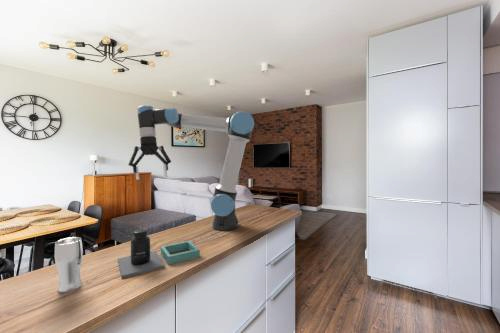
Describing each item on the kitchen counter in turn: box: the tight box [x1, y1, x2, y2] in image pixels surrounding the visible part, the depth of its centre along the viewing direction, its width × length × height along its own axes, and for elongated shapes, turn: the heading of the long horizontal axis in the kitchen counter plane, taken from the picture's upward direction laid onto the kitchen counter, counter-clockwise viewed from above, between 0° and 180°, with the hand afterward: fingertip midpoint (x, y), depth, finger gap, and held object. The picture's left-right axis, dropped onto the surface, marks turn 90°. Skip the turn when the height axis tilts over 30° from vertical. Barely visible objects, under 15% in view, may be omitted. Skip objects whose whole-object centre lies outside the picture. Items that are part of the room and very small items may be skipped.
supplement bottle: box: [130, 228, 151, 265], centre depth 90 cm, size 7×7×12 cm
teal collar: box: [160, 240, 201, 266], centre depth 98 cm, size 12×12×3 cm
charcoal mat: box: [117, 250, 166, 279], centre depth 90 cm, size 14×16×1 cm
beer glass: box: [54, 236, 84, 294], centre depth 74 cm, size 7×7×15 cm
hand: (152, 178), depth 121 cm, fingers open, 13 cm apart
